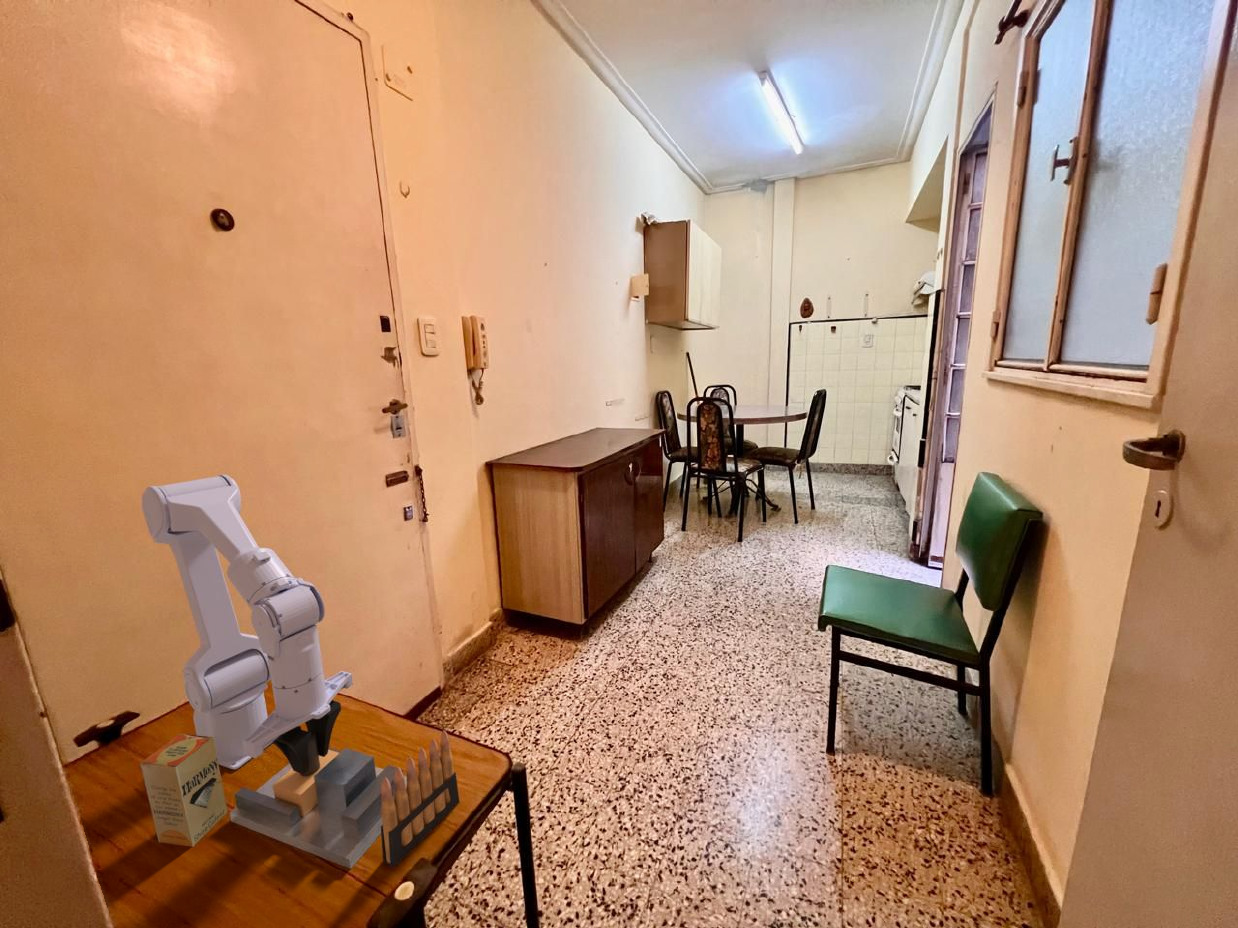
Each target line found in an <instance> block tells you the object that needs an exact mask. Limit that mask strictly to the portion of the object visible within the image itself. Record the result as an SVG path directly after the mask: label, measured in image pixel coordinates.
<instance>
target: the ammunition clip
mask: <svg viewBox="0 0 1238 928" xmlns="http://www.w3.org/2000/svg"><path fill="white" fill-rule="evenodd" d="M439 742H440V743H439V745H440V750H439V747H438V744H437V741H436V740H435V738H432V739H431V741H430V745H429V761H428V757H427V753H426V751H425V749H424V748H423V747H421V748H420V749H419V752H418V758H417V766H418V769H417V766H416V764H415V761H414V759H413V758H412V757H411V756H410V757H409V758H408V759H407V762H406V763H407V764H406V773H405V775H404V772H403V773H402V771H401V769H402V768H400V767H399V766H397V768H396V771H395V776H394V792H395V794H394V800H393V795H392V789H391V785H390V783H389V781H388V779H387V778H386V777H384V779H383V782H382V787H381V797H382V799H381V800H382V807H381V814H382V823H383V825H381V834H380V836H381V837H380V839H381V852H382V861H383V862H384V863H385V864H387V866H388V867H390V868H395V867H396V866H397V865H398V864H399V863H400V862H401V861H402V860H403V859H404V858H405V857H406V856H407V855H408V854H409V853H410V852H411V851H412V850H413V849H414V848H415V847H416V846H417V845H418V844H419V843H420V842H421V841H422V840H423V839H424V838H425V837H426V836H427V835H428V834H429V833H430V832H431V831H432V830H433V829H434V828H435V827H436V826H437V825H438V824H439V823H440V822H441V821H442V820H443V819H444V818H445V817H446V816H447V815H448V814H449V813H451V811H452V810H453V809H454V808H456V806H457V805H458V804H459V803H460V797H459V795H460V794H459V788H458V781H457V780H458V779H457V773H456V772H455V771H454V761H453V760H454V759H453V755H452V754H453V753H452V752H451V745H450V739H449V735H448V733H447V732H446V730H445V729H442V732H441V735H440V741H439ZM417 771H418V772H417ZM403 775H404V776H407V785H406V787H405V781H404V776H403Z"/></svg>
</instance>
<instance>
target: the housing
mask: <svg viewBox="0 0 1238 928" xmlns="http://www.w3.org/2000/svg"><path fill="white" fill-rule="evenodd" d="M340 751H341V752H340V753H339V754H338V755H337V756H336V757H335V758H334V759H333V760H331V761H330V762H329V763H328V764H327V765H326V766H325V767H324V768H322V769H321V770H320V771H319V772H318V773H317V774H316V775H315V776H314V781H315V787H316V794H317V801H318V807H319V814H321V815H324V816H326V817H329V818H332V819H335V820H337V821H340V822H342V820H341V813H342V812H343V811H344V810H345V809H346V808H347V807H348V806H349V805H350V804H351V803H352V802H353V801H354V800H355V799H356V798H357V797H358V796H359V795H360V794H361V793H362V792H363V791H364V790H365V789H366V788H367V786H368V785H369V784H370V783H371V782H372V781H373V780H374V779H375V778H376V771H375V767H376V765H375V763H376V762H375V757H374V756H373V755H370V754H367V753H363V752H360V751H357V750H353V749H350V748H346V747H345V748H343V750H340Z"/></svg>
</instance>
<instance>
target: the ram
mask: <svg viewBox="0 0 1238 928" xmlns="http://www.w3.org/2000/svg"><path fill="white" fill-rule="evenodd" d="M338 754H339V753H338V752H335V751H332V750H329V749H328V754H327V755H326V756H325V757H322V756H319V754H318V747H317V740H316V734H315V733H314V732H311V734H310V737H309V741H308V758H309V770H308V771H307V772H306V773H305V774H301V773H298V772H296V771H293V769H291V770H290V771H289V772H287V773H286V774H285V775H284V776H283V777H281V778H280V779H279V780H278V781H277V782H275V783H274V784H273V790H274V796H275V799H277V800H280V801H283V802H286V803H288V804H291V805H294V806H297V807H298V809H299V815H300V816H303V817H304V816H306V815H307V814H308V813H309V812H310V811H311V810H312V809H313V808H314V807H315V806H316V805H317V804H318V801H317V794H316V787H315V781H314V776H315V775H316V774H317V773H318V772H319V771H320V770H321V769H322V768H324V767H325V766H326V765H327V764H328V763H329V762H330V761H331V760H333V759H334V758H335V757H336V756H337V755H338Z"/></svg>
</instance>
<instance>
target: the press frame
mask: <svg viewBox="0 0 1238 928" xmlns="http://www.w3.org/2000/svg"><path fill="white" fill-rule="evenodd" d="M328 749H329V750H332V751H335V752H338V753H340V752H341V751H342V750H338V749H335V748H331V747H329V748H328ZM397 767H398V766H397ZM397 767H395V766H393V765H390V764H388V765H387V766H386V767H384V768H380V767H377V766H375V771H376V778H375V779H374V780H373V781H372V782H371V783H370V784H369V785H368V786H367V788H366V789H365V790H364V791H363V792H362V793H361V794H360V795H359V796H358V797H357V798H356V799H355V800H354V801H353V802H352V803H351V804H350V805H349V806H348V807H347V808H346V809H345V810H344V811H343V812H342V813H341V820H342V822H340V821H337V820H335V819H332V818H329V817H326V816H324V815H321V814H319V807H318V804H317V805H316V806H315V807H314V808H313V809H312V810H311V811H310V812H309V813H308V814H307V815H306V816H304V817H303V816H300V815H299V809H298V807H297V806H294V805H291V804H288V803H286V802H283V801H280V800H277V799H275V796H274V790H273V784H274V783H275V782H277V781H278V780H279V779H280V778H281V777H283V776H284V775H285V774H286V773H287V772H289V771H290V770H291V769H292V767H291V765H290V763H289V762H288V764H287V765H285V767H283V768H282V769H281V770H280V771H278V772H277V773H276V774H274V775H273V776H272V777H271V778H270V779H269V780H267V781H266V782H265V783H264V784H262V785H261V786H260V787H259V788H257V790H253V789H249V788H247V787H242V788H241V789H239V790H238V791H237V792H235V793H234V794H233V796H234V800H235V804H236V807H234V808H233V809H232V810H231V811H229V815H230V816H229V817H230V820H231V823H234V824H236V825H238V826H242V827H244V828H247V829H249V830H251V831H254V832H257V833H259V834H262V835H263V836H264V835H265V836H267V837H269V838H271V839H275V840H277V841H279V842H282V843H284V844H286V845H289V846H292V847H294V848H297V849H299V850H302V851H305V852H307V853H309V854H312V855H315V856H317V857H320V858H322V859H324V860H327V861H329V862H332V863H335V864H337V865H339V866H342V867H344V868H347V869H349V870H350V869H351V870H352V868H353V867H354V866H355V865H356V863H357V862H359V860H360V859H361V857H363V855H364V854H365V853H366V852H367V851H368V849H369V848H371V846H372V844H373V843H374V842H375V841H376V840H377V838H378V837H379V836H381V825H383V823H382V814H381V807H382V800H381V799H382V797H381V787H382V782H383V779H384V777H386V778H387V779H388V781H389V783H390V785H391V789H392V795H393V800H394V794H395V792H394V776H395V771H396V768H397ZM400 769H401V771H402V773H403V776H404V781H405V787H406V785H407V775H404V769H403V768H400Z"/></svg>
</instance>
